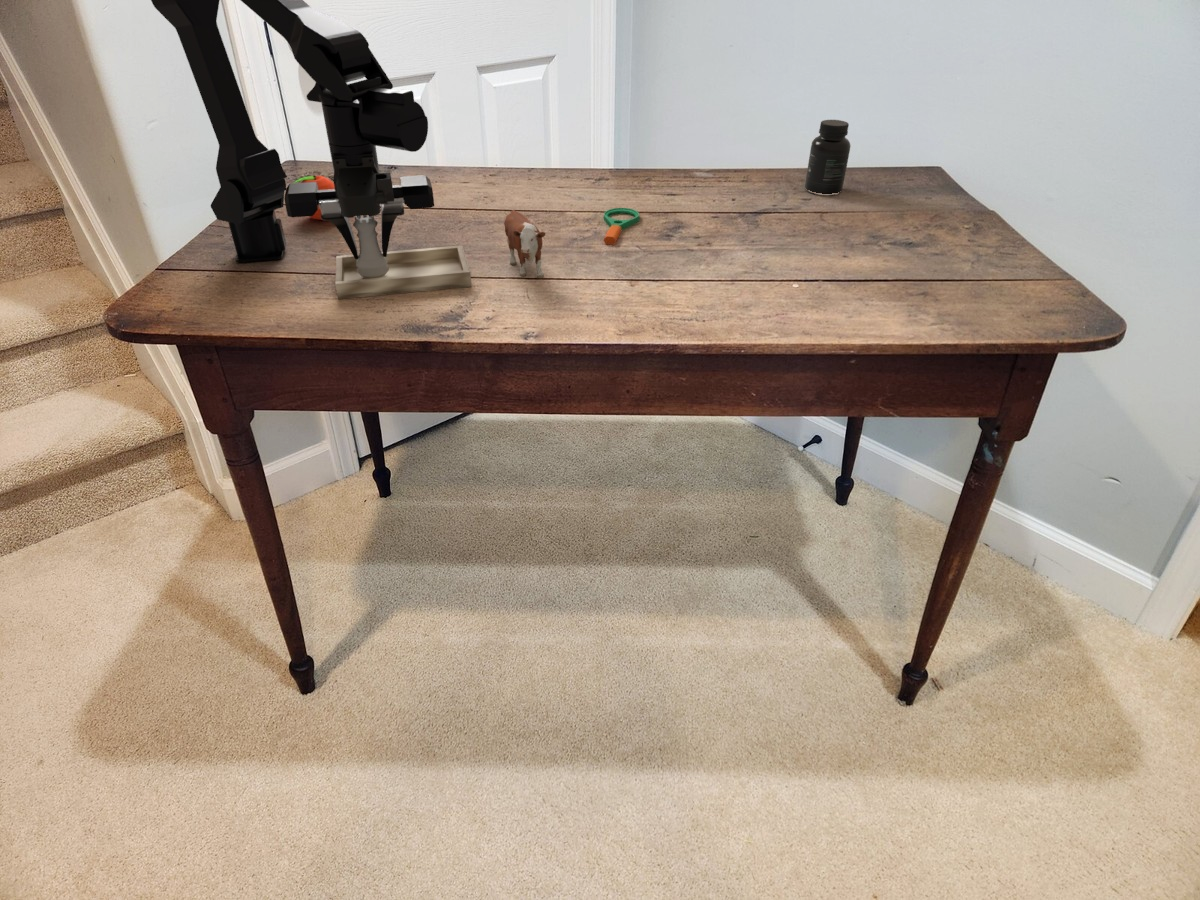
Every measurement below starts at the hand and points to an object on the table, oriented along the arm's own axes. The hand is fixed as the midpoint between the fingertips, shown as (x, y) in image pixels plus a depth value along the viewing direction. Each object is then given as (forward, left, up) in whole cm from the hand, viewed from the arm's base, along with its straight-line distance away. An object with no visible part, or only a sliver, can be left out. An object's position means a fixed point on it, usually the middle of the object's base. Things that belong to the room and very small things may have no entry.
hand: (370, 257), depth 110 cm
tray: (+4, 0, -4) cm, 5 cm away
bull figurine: (+22, -1, -4) cm, 22 cm away
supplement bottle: (+82, +23, -4) cm, 85 cm away
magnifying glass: (+39, +13, -4) cm, 41 cm away
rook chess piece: (0, 0, -3) cm, 2 cm away
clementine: (-8, +28, -4) cm, 29 cm away
